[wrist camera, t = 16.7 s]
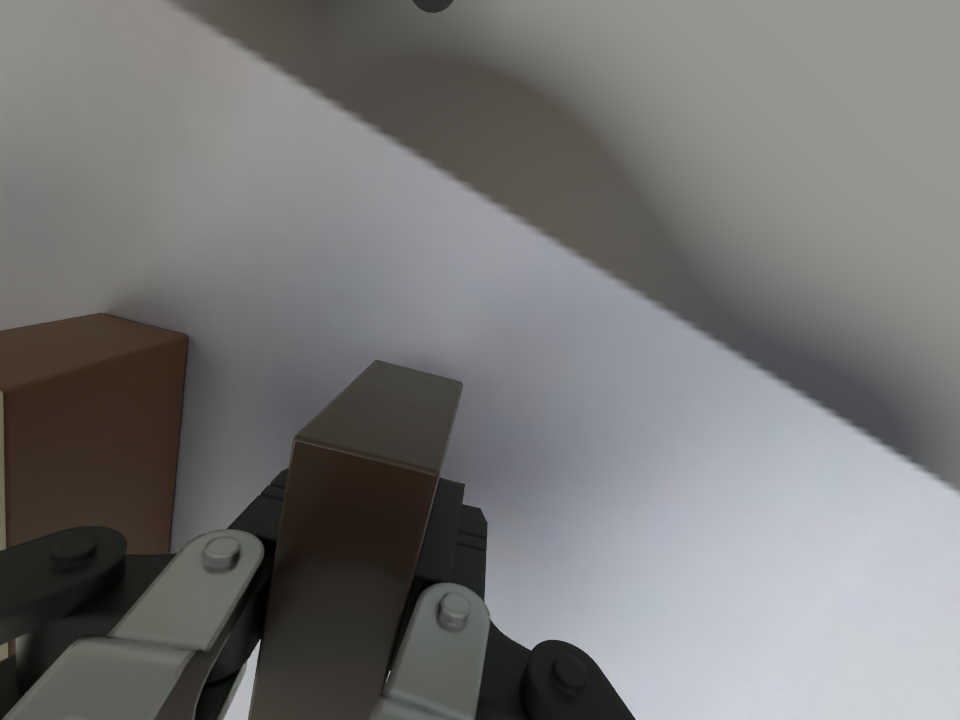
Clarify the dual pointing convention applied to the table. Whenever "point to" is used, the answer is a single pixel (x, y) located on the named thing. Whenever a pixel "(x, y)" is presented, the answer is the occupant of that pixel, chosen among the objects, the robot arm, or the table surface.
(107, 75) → the table surface
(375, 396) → the knife
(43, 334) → the cake slice
